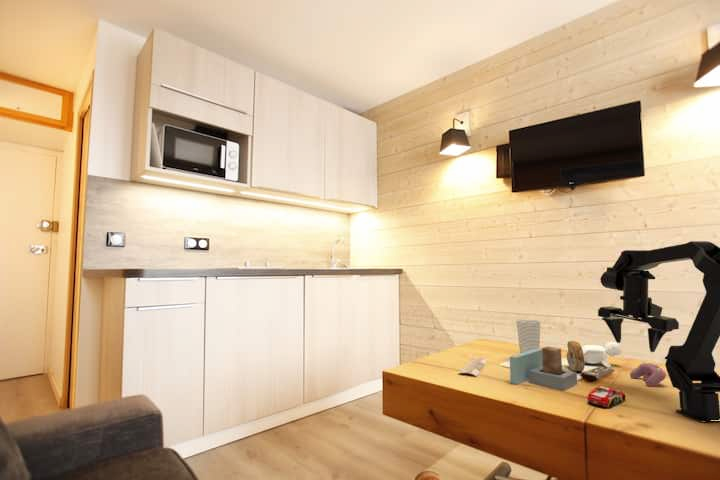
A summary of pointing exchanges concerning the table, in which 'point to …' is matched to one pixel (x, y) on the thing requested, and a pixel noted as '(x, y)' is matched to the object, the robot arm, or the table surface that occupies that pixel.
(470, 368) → the newspaper
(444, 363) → the table surface
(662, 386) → the table surface
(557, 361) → the walnut post
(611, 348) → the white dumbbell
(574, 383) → the socket block
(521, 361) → the backstop board
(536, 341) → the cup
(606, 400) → the race car
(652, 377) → the video game controller
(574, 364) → the stone disc
